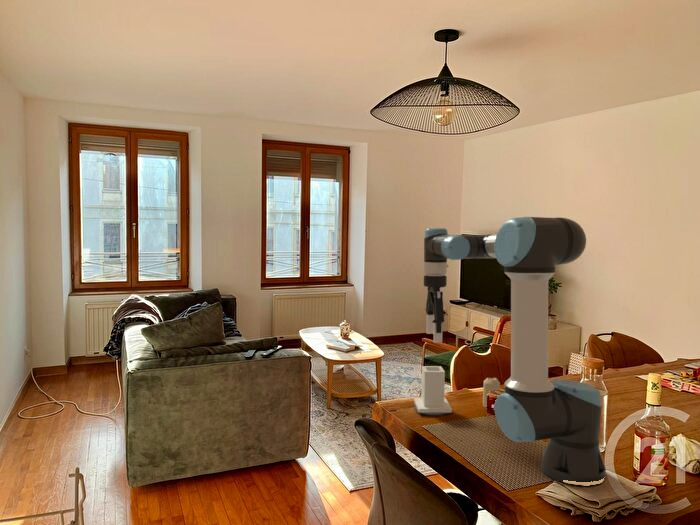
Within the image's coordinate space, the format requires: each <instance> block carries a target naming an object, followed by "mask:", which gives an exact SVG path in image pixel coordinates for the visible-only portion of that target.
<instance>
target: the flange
mask: <svg viewBox="0 0 700 525" xmlns="http://www.w3.org/2000/svg"><path fill="white" fill-rule="evenodd" d="M445 374H446V372H445V370H444V368H443V367H442V366H441V365H439V366H438V365H429V366H428V365H425V366H424V365H422V366H421V381H420V382H421V390H420V394H421V395H420V397H413V402H414V405H416V407H417V410H418V412H419V413H418V412H417V413H418V414H420V413H448V414H450V413H453V408H452V407H451V404H450V403H449V401H448V399H447V398H446V397H445V388H446V387H445V386H446V384H445V381H446V380H445V377H446V376H445Z"/></svg>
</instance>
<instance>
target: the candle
mask: <svg viewBox="0 0 700 525" xmlns="http://www.w3.org/2000/svg"><path fill="white" fill-rule="evenodd" d="M482 385H483V388H482V389H483V390H482V391H483V392H482V406H483V407H484V408H485V409H487V408H486V405H487V394H488V392H489V391H494V390H500V391H501V382H500V381H499V379H498V378H496V377H486V378H485V379H484V380H483V384H482Z"/></svg>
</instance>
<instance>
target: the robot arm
mask: <svg viewBox="0 0 700 525" xmlns="http://www.w3.org/2000/svg"><path fill="white" fill-rule="evenodd" d="M586 237H587V236H586V233H585V231H584V228H583V227H582V226H581V225H580V224H579V223H578V222H576V221H575V220H573V219H570V218H567V217H537V216H523V217H522V216H521V217H513V218H510V219H508V220H506V221H505V222H504V223H503V224H501V227H500V228H499V229H498V231H497V233H491V234H448V230H447V228H443V227H442V228H441V227H440V228H439V227H438V228H437V227H436V228H434V227H432V228H431V227H429V228H426V229H425V230H424V238H423V252H424V253H423V256H424V257H423V274H424V275H423V286H424V287H426V288H427V295H426V303H425V304H426V306H425V312H426V313H425V314H426V328H425V329H426V334H427V335H428V334H429V335H431V334H432V335H433V343H434V344H435V343H437V344H439V343H440V344H441V343H442V344H443V331H444V330H443V326H444V325H443V324H444V323H445V314H444V312H445V311H444V299H443V298H444V297H443V294H444V293H443V291H441V288H445V287H447V283H448V282H447V281H448V280H447V272H448V271H447V270H448V269H447V268H449V264H447V262H448V260H452V261H460V260H465V259H466V260H469V259H470V260H471V259H494V260H495V259H496V260H497V263H499V264H500V265H501V266H503V267H504V274H505V275H506V276H507V277H508V278H509V279H510V377H509V378H508V379H506V380H505V382H504V392H502V393H500V395H498V396H497V399H496V400H495V403H494V409H493V410H494V414H495V419H496V421H497V424H498V426H499V428H500V429H501V432H502V433H503V434H504V435H505V436H506V437H507V438H508V439H509V440H511V441H513V442H514V443H515V442H516V443H526V442H527V443H533V442H535V441H540V440H541V441H543V440H548V442H547V444H546V446H545V448H544V451H543V454H542V456H541V460H540V468H541V471H542V472H543V473H544V474H545V475H546V476H547V477H549V478H551V479H552V480H554V481H557V482H559V481H563V480H568V481H576V482H591V481H592V482H593V481H599V480H601V479H603V478H604V477H605V478H606V476H605V475H607V474H606V473H607V471H606V466H605V462H604V458H603V456H602V453H601V449H600V431H601V416H602V408H603V405H602V396H601V392H600V391H599V389H598V388H596V387H595V386H593V385H590V384H588V383H584V382H582V381H581V382H580V381H576V380H571V379H565V378H554V379H552V381H550V379H549V280H550V279H552V277H553V276H554V275H555V274H556V265H557V266H558V265H559V266H561V265H565V264H570V263H573V262H574V261H576V260H577V259H579V258H580V257H581V256H582V254H583V253H584V251H585V249H586V246H587V238H586Z"/></svg>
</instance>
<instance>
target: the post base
mask: <svg viewBox="0 0 700 525" xmlns="http://www.w3.org/2000/svg"><path fill="white" fill-rule="evenodd" d="M413 408H414V409H413V410H414V411H415V412H416V413H417V414H421V415H423V416H430V417H439V416H445V415H448V414H449V413H419V412H418V410H417V407H416V405H415V404H414V405H413Z"/></svg>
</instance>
